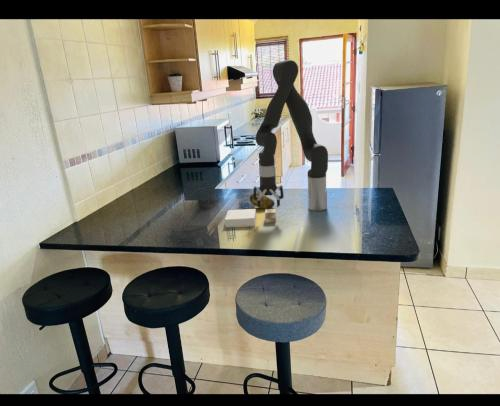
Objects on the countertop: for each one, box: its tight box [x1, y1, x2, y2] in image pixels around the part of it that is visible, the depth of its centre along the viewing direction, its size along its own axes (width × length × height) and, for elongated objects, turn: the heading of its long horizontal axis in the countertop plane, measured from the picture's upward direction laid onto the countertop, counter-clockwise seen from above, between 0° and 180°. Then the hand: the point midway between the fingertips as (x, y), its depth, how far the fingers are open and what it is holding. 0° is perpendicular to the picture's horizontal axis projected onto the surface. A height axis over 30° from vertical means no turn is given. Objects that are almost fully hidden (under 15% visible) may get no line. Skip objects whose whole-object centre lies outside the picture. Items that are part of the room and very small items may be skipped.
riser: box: [224, 208, 257, 228], centre depth 185 cm, size 14×13×4 cm
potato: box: [249, 192, 275, 210], centre depth 201 cm, size 8×13×8 cm, turn 53°
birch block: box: [264, 208, 277, 223], centre depth 183 cm, size 5×5×5 cm
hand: (268, 206), depth 182 cm, fingers open, 8 cm apart
